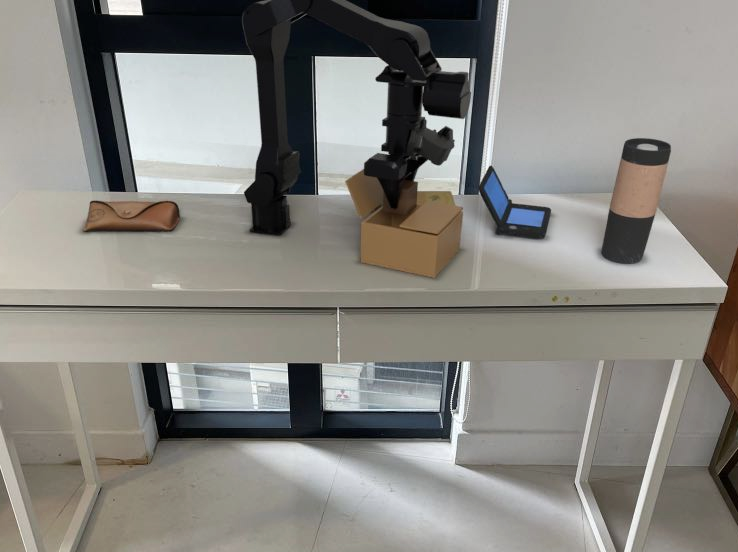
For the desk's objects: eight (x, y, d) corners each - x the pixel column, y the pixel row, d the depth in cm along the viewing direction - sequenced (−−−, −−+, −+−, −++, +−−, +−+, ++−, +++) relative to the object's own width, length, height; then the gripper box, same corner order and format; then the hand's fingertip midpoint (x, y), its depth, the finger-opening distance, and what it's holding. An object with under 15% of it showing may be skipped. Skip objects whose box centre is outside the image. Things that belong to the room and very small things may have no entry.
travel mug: (590, 251, 132) (614, 140, 121) (623, 244, 135) (649, 135, 123) (619, 267, 126) (646, 153, 115) (653, 260, 129) (683, 147, 118)
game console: (544, 242, 136) (552, 195, 131) (472, 233, 139) (477, 187, 134) (551, 213, 148) (559, 169, 143) (485, 206, 151) (490, 163, 146)
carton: (454, 225, 143) (456, 204, 140) (373, 224, 143) (374, 203, 140) (450, 209, 149) (451, 189, 147) (372, 209, 150) (373, 189, 147)
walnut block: (382, 211, 127) (383, 185, 124) (392, 203, 130) (393, 177, 128) (406, 215, 125) (408, 189, 122) (416, 207, 128) (418, 181, 126)
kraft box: (360, 262, 128) (361, 217, 124) (389, 236, 138) (391, 194, 133) (434, 278, 123) (438, 232, 118) (459, 250, 133) (463, 206, 128)
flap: (362, 218, 124) (360, 218, 124) (392, 195, 133) (390, 195, 133) (346, 180, 121) (344, 181, 121) (378, 159, 131) (376, 160, 131)
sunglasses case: (80, 231, 139) (78, 196, 138) (91, 236, 146) (90, 203, 145) (173, 230, 139) (172, 195, 139) (180, 235, 146) (180, 202, 146)
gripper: (430, 132, 108) (423, 229, 117) (468, 105, 122) (459, 194, 131) (363, 123, 112) (361, 218, 121) (407, 98, 126) (403, 185, 135)
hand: (399, 203), depth 127 cm, fingers closed on walnut block, 4 cm apart
